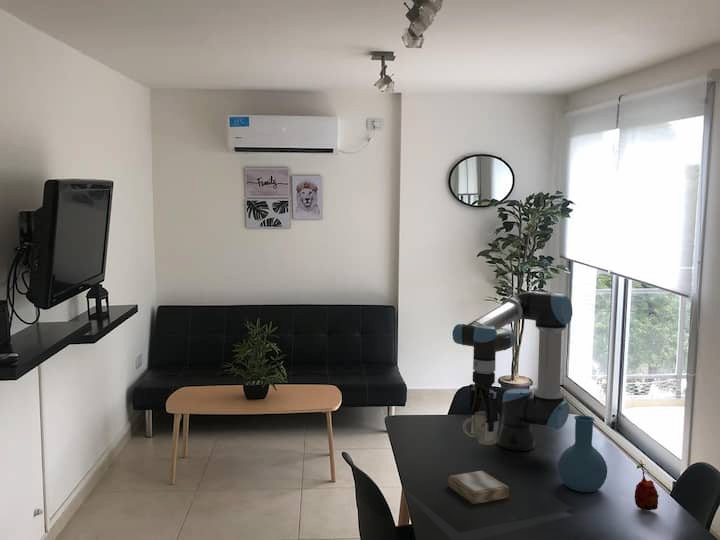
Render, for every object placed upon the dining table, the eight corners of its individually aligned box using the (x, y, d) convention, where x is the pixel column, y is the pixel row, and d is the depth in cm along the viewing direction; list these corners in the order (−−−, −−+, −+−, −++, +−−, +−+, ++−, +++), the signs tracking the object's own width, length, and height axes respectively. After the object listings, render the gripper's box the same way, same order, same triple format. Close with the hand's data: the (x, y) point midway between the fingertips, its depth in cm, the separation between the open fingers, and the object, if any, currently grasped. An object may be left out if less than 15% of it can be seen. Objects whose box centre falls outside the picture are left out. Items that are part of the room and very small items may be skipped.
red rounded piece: (645, 513, 211) (647, 468, 209) (628, 504, 217) (630, 460, 216) (662, 509, 214) (664, 465, 213) (645, 501, 220) (647, 457, 219)
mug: (500, 446, 220) (499, 416, 219) (462, 445, 222) (461, 416, 222) (499, 439, 228) (498, 410, 228) (463, 438, 230) (462, 410, 230)
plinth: (481, 480, 236) (482, 469, 236) (508, 497, 221) (508, 486, 221) (448, 486, 230) (448, 475, 230) (473, 504, 216) (473, 492, 215)
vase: (582, 500, 220) (585, 427, 218) (547, 482, 235) (549, 414, 233) (617, 491, 228) (619, 421, 226) (580, 475, 242) (583, 409, 241)
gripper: (458, 366, 231) (456, 429, 232) (492, 378, 212) (490, 447, 214) (476, 364, 234) (474, 427, 235) (511, 376, 215) (508, 444, 217)
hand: (481, 436), depth 224 cm, fingers closed on mug, 7 cm apart
